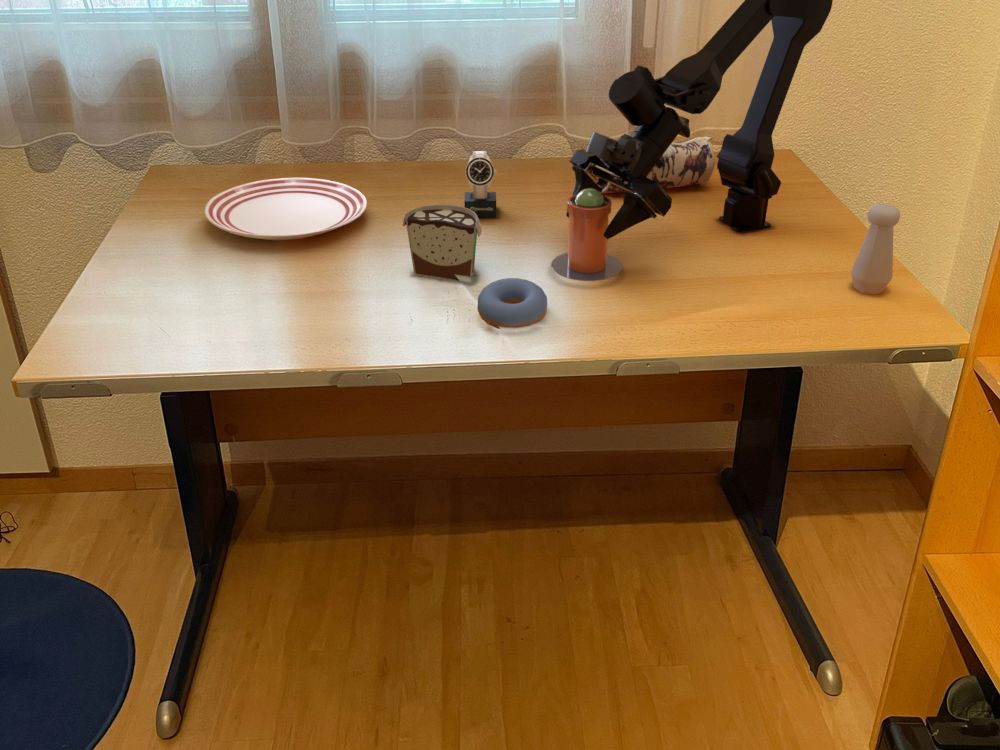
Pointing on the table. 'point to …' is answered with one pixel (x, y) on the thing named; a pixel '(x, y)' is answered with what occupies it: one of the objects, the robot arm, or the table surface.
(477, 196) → the watch
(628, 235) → the table surface
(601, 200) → the plant pot
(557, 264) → the saucer
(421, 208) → the food container
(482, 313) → the doughnut
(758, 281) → the table surface
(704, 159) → the pencil case
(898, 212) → the salt shaker
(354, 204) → the dinner plate
